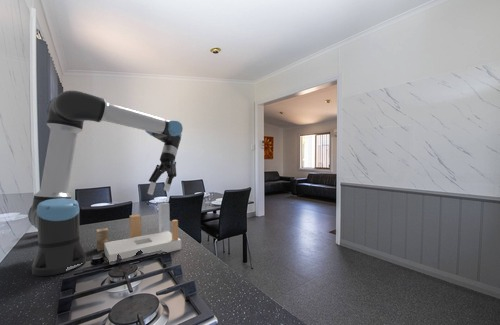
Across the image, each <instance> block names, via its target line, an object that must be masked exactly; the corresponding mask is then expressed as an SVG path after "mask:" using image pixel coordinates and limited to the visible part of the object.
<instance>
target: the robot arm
mask: <svg viewBox="0 0 500 325" xmlns="http://www.w3.org/2000/svg"><path fill="white" fill-rule="evenodd" d="M46 112H47V119H46V125H47V127H48V128H49V129H50V131H49V132H50V133H49V138H48V142H47V143H48V144H47V150H46V154H45V161H44V165H43V172H42V178H41V184H40V190H39V191H38V192H35V193H34V194H33V200H32V205H31V206H30V208H29V211H28V215H27V218H28V221H29V223H30V224H31V225H32V226H33V227H35V229H37V245H38V246H37V247H38V248H37V251H36V254H35V257H34V260H33V262H32V264H31V274H32V275H33V276H36V277H38V276H39V277H49V276H55V275H59V274H64V273H67V272H66V269H67V267H70V266H74V265H77V264H81V263H84V262H85V263H86V262H87V254H86V252H85V250H84V248H83V245H82V243H81V240H80V239H81V238H80V236H81V234H80V205H79V202H78V200H76V199H73V198H72V195H71V193H69V186H70V179H71V174H72V168H73V161H74V157H75V150H76V144H77V137H78V134H79V133H81V132H83V127H84V121H85V122H86V121H89V122H95V123H101V122H102V121H103V122H107V123H112V124H116V125H120V126H124V127H130V128H132V129H137V130H142V131H145V132H146V133H147V134H148V135H150V136H151V137H153V138H155V139H157V140H159V141H160V142H162V143H163V146H162V151H161V155H160V158H159V161H160V164H157V165H156V166H155V169H154V171H153V172H152V174H151V175H150V177H149V179H148V182H150V184H149V187H148V189H147V194H148V195H150V196H153V195H154V192H155V188H156V185H157V181H158V180H159V179H160V178H161V176H162V175H163V174H165V173H167V176H166V180H165V183H164V187H163V191H165V192H167V193H168V192H170V189H171V185H172V182H173V179H174V178H175V177H177V168H176V166H177V161H176V157H177V153H178V149H179V146H180V143H181V139H182V133H183V130H184V129H183V123H181V122H180V121H179V120H177V119H172V120H170V119H165V118H162V117H159V116H155V115H152V114H148V113H146V112H145V113H144V112H141V111H138V110H135V109H132V108H128V107H124V106H121V105H117V104H114V103H110V102H107V100H106V99H105V98H102V97H99V96H96V95H92V94H89V93H87V92H83V91H79V90H78V91H77V90H65V91H62V92H61V93H59V94H58V95H56V96H54V97H53V98H51V100H50V101H49V102H48V103H47V107H46ZM85 263H84V264H85Z"/></svg>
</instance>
